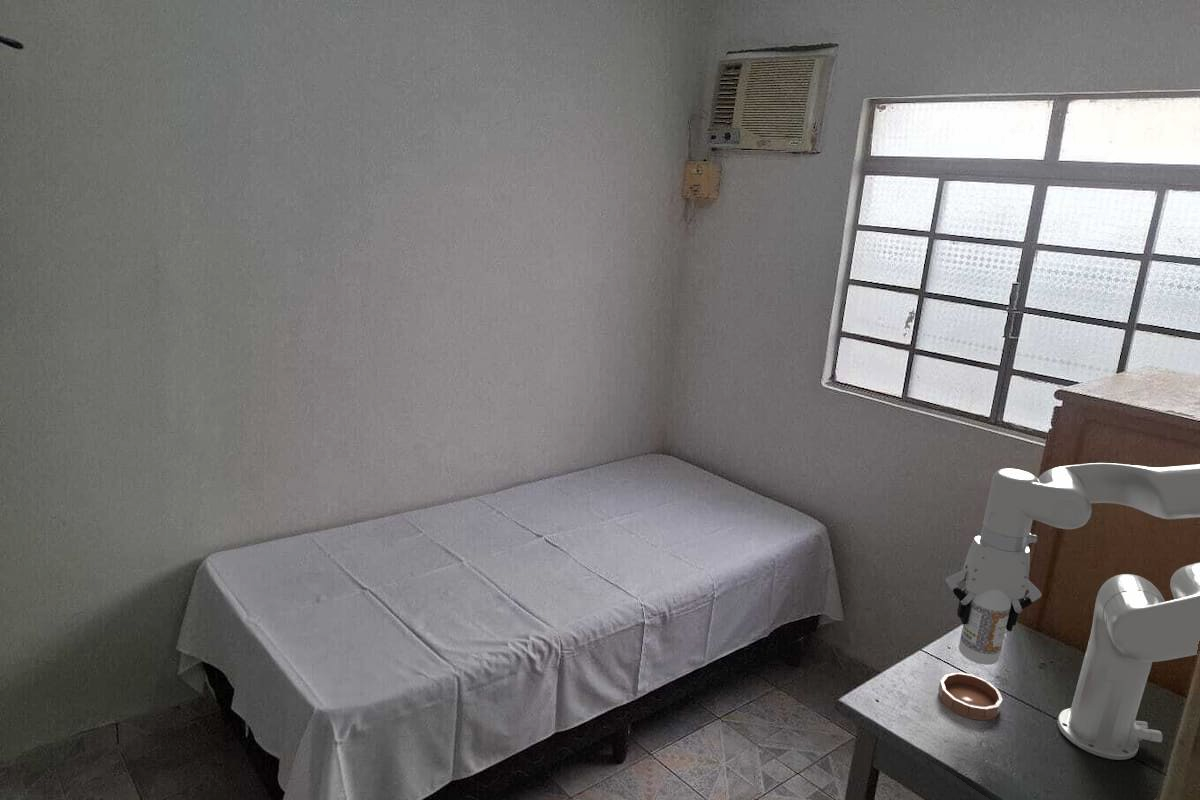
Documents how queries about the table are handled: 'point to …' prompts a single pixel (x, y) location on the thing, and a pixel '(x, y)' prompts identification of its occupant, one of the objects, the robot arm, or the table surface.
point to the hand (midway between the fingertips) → (985, 623)
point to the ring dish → (970, 696)
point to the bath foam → (985, 627)
